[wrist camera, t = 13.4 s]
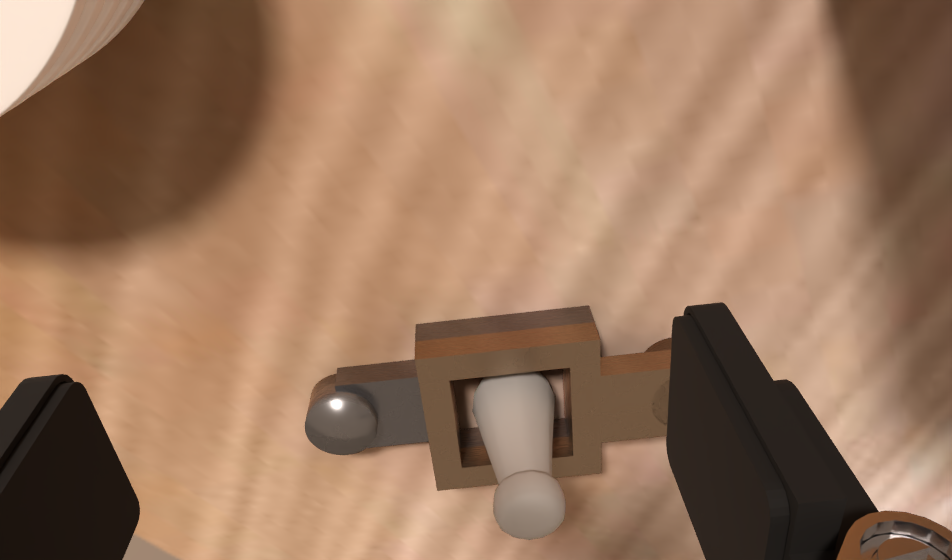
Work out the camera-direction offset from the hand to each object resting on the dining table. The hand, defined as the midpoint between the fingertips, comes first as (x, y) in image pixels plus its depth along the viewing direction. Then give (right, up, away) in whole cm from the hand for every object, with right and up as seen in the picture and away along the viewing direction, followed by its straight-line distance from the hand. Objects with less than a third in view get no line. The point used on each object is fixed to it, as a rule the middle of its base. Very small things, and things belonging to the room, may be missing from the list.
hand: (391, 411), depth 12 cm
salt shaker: (+4, -5, +43) cm, 43 cm away
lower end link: (-1, -6, +42) cm, 43 cm away
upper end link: (+8, -5, +42) cm, 43 cm away
